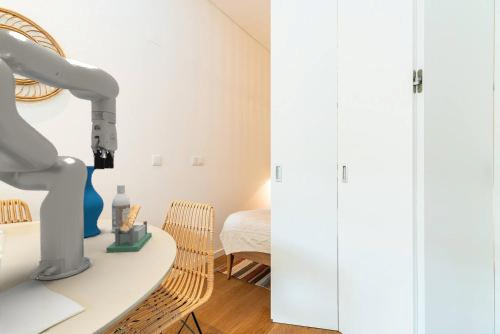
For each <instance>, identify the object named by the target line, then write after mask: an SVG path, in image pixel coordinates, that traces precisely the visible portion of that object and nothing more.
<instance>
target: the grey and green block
mask: <svg viewBox="0 0 500 334" xmlns="http://www.w3.org/2000/svg"><path fill="white" fill-rule="evenodd" d="M120 230H121V229H120V227H118V228H116V229H115V233H114V241H113V242H112V243H111V244H110V245H109V246H107V247H106V253H129V252H131V253H133V252H140V250H141V249H142V248H143V247H144V245H145V244H147V242H148V241H149V240H150V239H151V238H152V237H153V235H152V232H148V221H147V220H144V221H143V224H133V226H132V227H131V228H129V234H119V231H120Z"/></svg>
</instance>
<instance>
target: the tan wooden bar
mask: <svg viewBox="0 0 500 334" xmlns="http://www.w3.org/2000/svg"><path fill="white" fill-rule="evenodd" d="M141 207H142V206H141V205H135V204H134V205H133V204H132V206H130V211H129V213H128V215H127V218H126V220H125V222H124V224H123V226H122V228H121V230H120V231H119V234H129V228H131V227H132V226H133V225H135V221H136V219H137V217H138V215H139V211H140V210H141Z"/></svg>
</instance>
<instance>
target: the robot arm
mask: <svg viewBox="0 0 500 334" xmlns="http://www.w3.org/2000/svg"><path fill="white" fill-rule="evenodd" d="M15 75H18V76H20V77H24V78H26V79H28V80H29V79H30V80H32V81H35V82H37V83H40V84H42V85H45V86H48V87H51V88H54V89H60V90H61V89H62V90H68V91H69V92H70V94H71V95H72V96H74V97H75V98H77V99H79V100H80V99H81V100H85V101H90V105H91V106H90V107H91V109H90V110H91V112H90V113H91V114H90V115H91V117H90V118H91V120H90V121H91V123H92V124H91V135H90V136H91V137H90V138H91V139H90V140H91V142H90V143H91V144H90V148H91V150H92V153H93V155H92V157H93V166H94V169H95V170H105V169H106V170H108V169H110V170H111V169H114V168H115V160H114V159H115V151H117V150H118V134H117V128H116V127H117V126H116V124H117V100H116V99H117V98H118V96H119V94H120V85H119V83H118V81H117V80H116V79H115V77H113V75H112V74H110V73H108V72H107V71H105V70H103V69H101V68H99V67H96V66H94V65H90V64H87V63H84V62H80V61H78V60H74V59H71V58H67V57H64V56H61V55H60V54H58V53H55V51H53V50H50V49H49V48H46V47H45V46H43V45H42V44H40V43H38V42H36V41H34V40H32V39H31V38H29V37H27V36H25V35H23V34H21V33H19V32H16V31H12V30H8V29H0V182H2V183H4V184H6V185H9V186H11V187H13V188H15V189H17V190H22V191H36V192H40V191H42V192H43V191H44V192H45V191H46V192H48V193H47V194H46V196H45V197H44V199H43V200H42V202H41V204H40V208H39V218H40V219H39V226H40V227H39V229H40V230H39V231H40V232H39V233H40V235H39V236H40V260H39V261H38V266H37V267H36V268H35V269H33V270H32V271H30V272H29V273H28V277H29V279H30V280H35V278H38V279H39V280H38V279H37V280H38V281H51V280H52V281H53V280H58V279H59V280H60V279H65V278H67V277H68V278H69V277H71V276H74V275H77V274H80V273H81V272H84V271H85V270H87V269H88V268H89V267H90V266H91V264H92V263H91V259H90V258H89V257H85V237H84V212H83V200H84V189H85V184H86V180H87V167H86V166H87V165H86V164H85V162H84V161H83V160H82V159H80V158H78V157H74V156H68V155H67V156H66V155H59V152H58V150H57V148H56V147H55V145H54V144H53V143H52V142H51V141H50V140H49V139H48V138H47V137H45V136H44V135H43V134H42V133H41V132H39V131H38V130H37V129H36V128H35V127H33V125H31V124H30V123H28V121H26V120H25V119H24V118H23V116H21V115H20V113H19V112H18V109H17V105H16V101H17V100H16V79H15Z"/></svg>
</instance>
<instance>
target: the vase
mask: <svg viewBox="0 0 500 334" xmlns="http://www.w3.org/2000/svg"><path fill="white" fill-rule="evenodd" d="M86 167H87V180H86V184H85V189H84V200H83V212H84V238H89V237H90V238H91V237H94V236H97V235H100V233H101V232H102V231H101V229H100V228H99V227H98V221H99V218H100V217H101V214H102V213H103V210H104V207H105V205H104V204H105V203H104V200H103V198H102V196H101V195H100V193H99V192H97V190H96V189H95V188H94V186H93V183H92V178H93V174H94V172H95V170H96V169H94V165H86Z"/></svg>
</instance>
